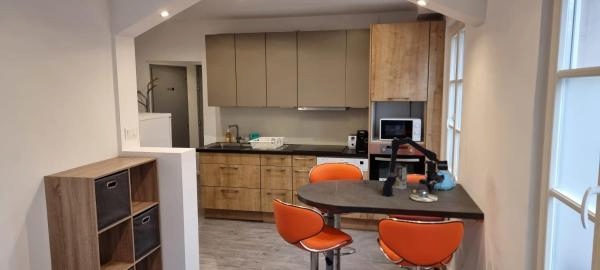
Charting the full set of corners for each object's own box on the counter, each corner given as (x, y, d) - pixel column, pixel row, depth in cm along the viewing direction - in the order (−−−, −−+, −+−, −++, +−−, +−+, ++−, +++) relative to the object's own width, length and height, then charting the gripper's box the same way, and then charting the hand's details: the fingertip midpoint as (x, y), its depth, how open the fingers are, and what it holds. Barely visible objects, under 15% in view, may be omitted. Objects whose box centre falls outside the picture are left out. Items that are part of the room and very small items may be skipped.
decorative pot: (439, 192, 285) (440, 173, 283) (425, 187, 300) (425, 169, 298) (457, 190, 291) (458, 172, 289) (442, 185, 306) (443, 168, 304)
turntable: (426, 203, 254) (426, 196, 253) (404, 197, 268) (404, 191, 268) (443, 199, 264) (443, 192, 264) (421, 193, 279) (421, 187, 278)
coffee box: (407, 188, 297) (407, 166, 295) (401, 189, 293) (402, 168, 291) (396, 186, 304) (397, 165, 302) (391, 187, 299) (392, 166, 298)
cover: (424, 198, 261) (424, 192, 261) (416, 196, 266) (417, 190, 266) (430, 196, 265) (430, 191, 264) (422, 195, 270) (422, 189, 269)
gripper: (432, 173, 256) (432, 197, 258) (450, 170, 267) (449, 193, 269) (418, 171, 266) (418, 194, 267) (436, 167, 276) (435, 190, 278)
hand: (430, 192), depth 270 cm, fingers closed
